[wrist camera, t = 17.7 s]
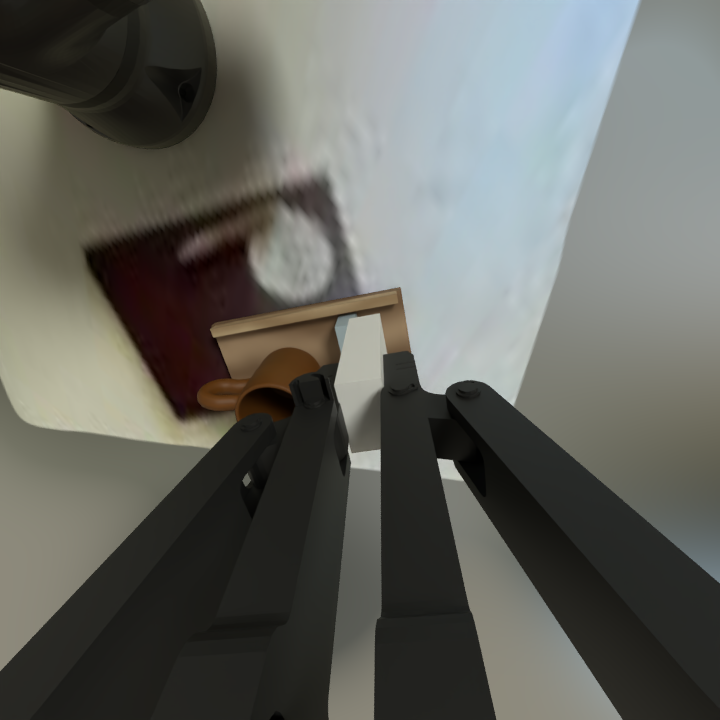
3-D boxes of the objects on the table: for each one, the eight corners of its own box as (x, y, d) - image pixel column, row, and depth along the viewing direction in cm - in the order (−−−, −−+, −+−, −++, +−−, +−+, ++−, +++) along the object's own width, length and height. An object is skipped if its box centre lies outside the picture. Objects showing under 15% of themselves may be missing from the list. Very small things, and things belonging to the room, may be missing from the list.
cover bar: (338, 315, 40) (334, 327, 37) (356, 312, 40) (353, 323, 36) (360, 406, 45) (358, 425, 41) (376, 404, 45) (375, 422, 41)
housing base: (215, 322, 43) (205, 330, 40) (400, 287, 40) (401, 292, 38) (255, 427, 49) (249, 438, 46) (418, 402, 46) (421, 413, 44)
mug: (225, 390, 45) (189, 436, 37) (225, 334, 42) (185, 369, 33) (320, 405, 45) (307, 454, 37) (327, 350, 42) (314, 389, 34)
